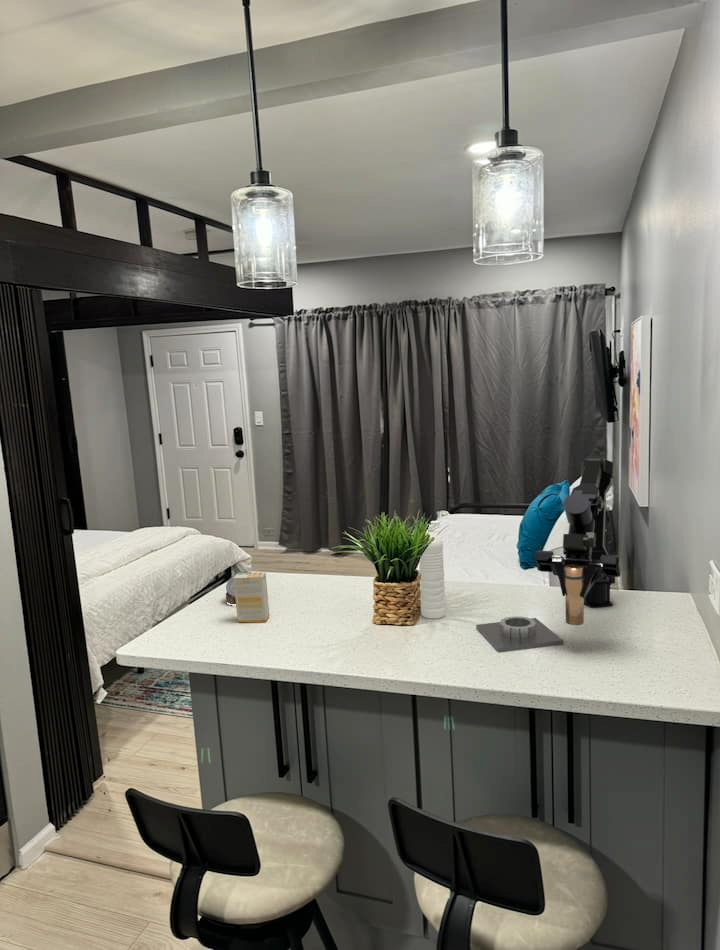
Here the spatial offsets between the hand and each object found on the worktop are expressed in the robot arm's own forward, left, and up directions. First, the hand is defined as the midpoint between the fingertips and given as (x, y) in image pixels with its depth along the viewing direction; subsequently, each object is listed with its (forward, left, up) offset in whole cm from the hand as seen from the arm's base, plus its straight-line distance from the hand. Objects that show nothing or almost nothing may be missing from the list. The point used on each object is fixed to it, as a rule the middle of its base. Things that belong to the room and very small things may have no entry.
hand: (573, 596), depth 158 cm
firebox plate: (+8, -13, -13) cm, 21 cm away
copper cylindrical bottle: (-1, -1, -7) cm, 7 cm away
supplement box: (+72, -46, -14) cm, 87 cm away
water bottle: (+23, -35, -14) cm, 44 cm away
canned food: (+75, -64, -14) cm, 100 cm away
